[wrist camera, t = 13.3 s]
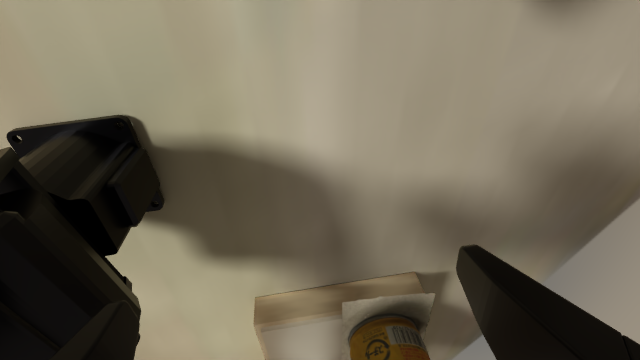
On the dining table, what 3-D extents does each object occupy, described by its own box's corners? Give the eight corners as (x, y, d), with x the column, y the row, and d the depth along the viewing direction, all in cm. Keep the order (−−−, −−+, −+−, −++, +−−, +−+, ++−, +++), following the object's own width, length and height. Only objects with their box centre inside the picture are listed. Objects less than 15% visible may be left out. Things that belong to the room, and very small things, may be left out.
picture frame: (278, 371, 35) (278, 402, 32) (255, 297, 28) (253, 329, 26) (408, 348, 35) (418, 377, 33) (414, 271, 29) (428, 300, 26)
